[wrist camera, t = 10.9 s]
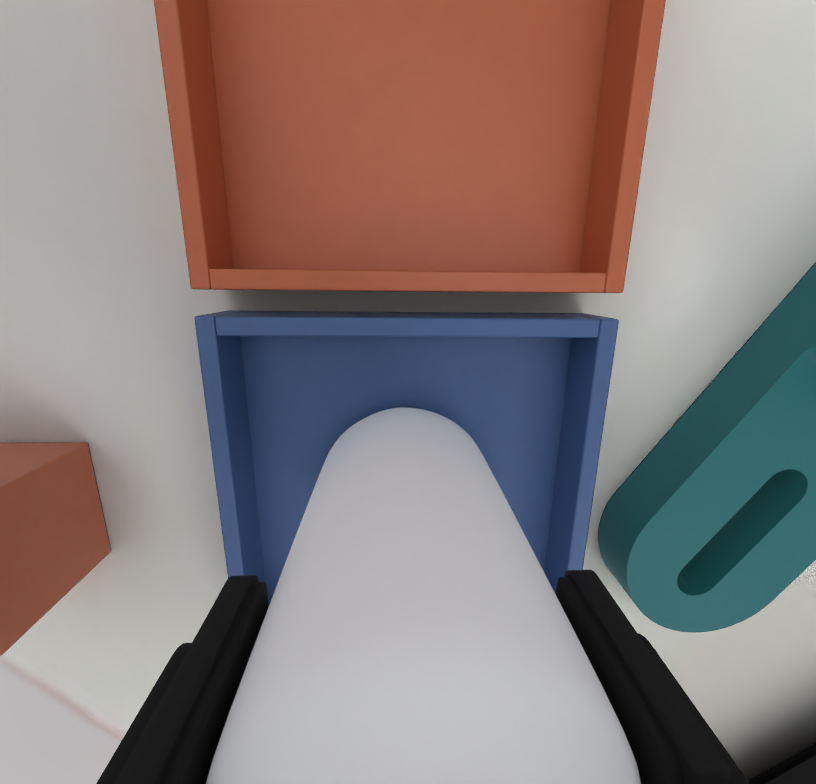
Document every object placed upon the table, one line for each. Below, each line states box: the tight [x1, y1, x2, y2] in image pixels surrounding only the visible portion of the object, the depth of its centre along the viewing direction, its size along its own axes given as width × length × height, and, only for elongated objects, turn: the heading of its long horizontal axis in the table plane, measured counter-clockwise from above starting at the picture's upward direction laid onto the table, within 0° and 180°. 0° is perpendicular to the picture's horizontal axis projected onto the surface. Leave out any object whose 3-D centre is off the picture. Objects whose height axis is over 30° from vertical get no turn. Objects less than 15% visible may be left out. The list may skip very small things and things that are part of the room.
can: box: [206, 407, 641, 784], centre depth 10 cm, size 6×6×12 cm
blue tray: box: [195, 311, 619, 605], centre depth 15 cm, size 13×13×2 cm
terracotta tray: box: [154, 0, 666, 293], centre depth 12 cm, size 13×13×2 cm
